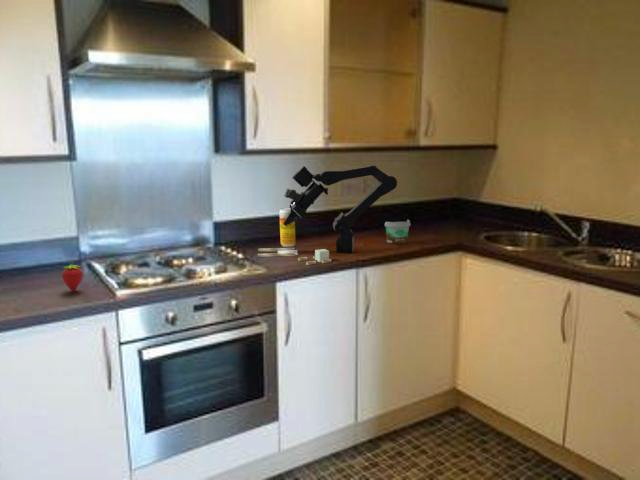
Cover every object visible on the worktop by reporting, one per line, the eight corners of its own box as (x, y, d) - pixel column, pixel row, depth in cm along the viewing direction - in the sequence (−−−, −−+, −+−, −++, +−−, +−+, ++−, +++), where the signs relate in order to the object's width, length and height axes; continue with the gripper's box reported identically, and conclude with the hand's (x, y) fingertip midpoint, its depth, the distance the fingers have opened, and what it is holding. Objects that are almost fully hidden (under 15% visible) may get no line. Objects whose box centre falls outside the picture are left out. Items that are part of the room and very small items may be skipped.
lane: (294, 250, 232) (294, 247, 232) (295, 255, 221) (295, 253, 221) (258, 251, 231) (258, 248, 231) (257, 256, 220) (257, 254, 220)
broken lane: (321, 257, 218) (321, 255, 218) (331, 261, 210) (331, 259, 210) (298, 260, 214) (298, 257, 213) (307, 264, 206) (307, 262, 206)
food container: (391, 246, 238) (391, 223, 236) (384, 243, 244) (384, 221, 242) (415, 243, 243) (416, 221, 241) (407, 241, 249) (408, 219, 247)
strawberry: (84, 287, 178) (81, 257, 176) (84, 293, 172) (81, 261, 170) (64, 289, 176) (61, 258, 174) (63, 295, 169) (60, 263, 167)
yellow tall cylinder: (282, 247, 222) (280, 210, 219) (279, 244, 228) (278, 208, 225) (297, 246, 224) (295, 209, 221) (293, 243, 230) (292, 207, 227)
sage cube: (324, 259, 216) (324, 248, 215) (329, 261, 213) (329, 250, 212) (315, 260, 214) (315, 249, 213) (319, 262, 211) (319, 251, 210)
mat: (296, 250, 231) (296, 250, 231) (297, 254, 223) (297, 254, 223) (277, 251, 230) (277, 250, 230) (277, 255, 222) (277, 254, 222)
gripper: (294, 179, 230) (269, 206, 232) (296, 183, 212) (269, 213, 213) (314, 197, 233) (288, 224, 234) (317, 203, 214) (290, 232, 215)
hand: (283, 223), depth 224 cm, fingers closed on yellow tall cylinder, 6 cm apart
